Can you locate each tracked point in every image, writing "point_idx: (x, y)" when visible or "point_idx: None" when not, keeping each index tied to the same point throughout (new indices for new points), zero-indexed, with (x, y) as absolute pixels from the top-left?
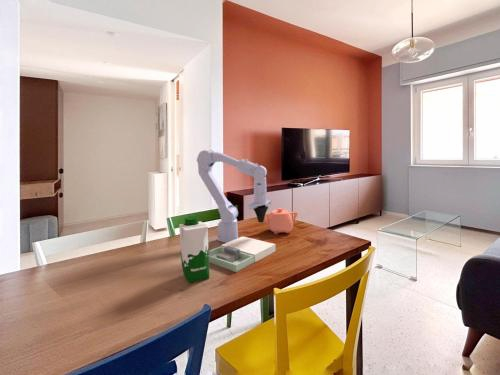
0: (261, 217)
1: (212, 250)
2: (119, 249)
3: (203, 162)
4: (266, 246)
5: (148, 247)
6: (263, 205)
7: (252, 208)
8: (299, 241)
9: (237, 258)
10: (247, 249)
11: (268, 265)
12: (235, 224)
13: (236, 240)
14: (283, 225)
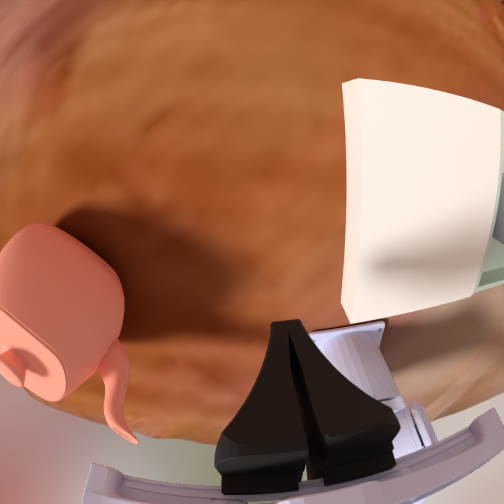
0: (320, 353)
1: (500, 280)
2: (467, 406)
3: None
4: (418, 108)
5: (455, 399)
6: (274, 488)
7: (496, 415)
8: (107, 84)
9: (502, 174)
10: (482, 173)
11: (466, 47)
12: (373, 396)
13: (414, 299)
14: (62, 258)
